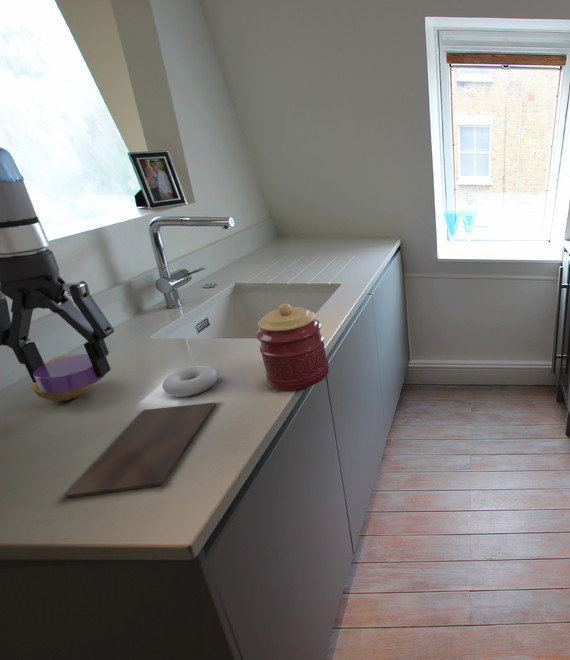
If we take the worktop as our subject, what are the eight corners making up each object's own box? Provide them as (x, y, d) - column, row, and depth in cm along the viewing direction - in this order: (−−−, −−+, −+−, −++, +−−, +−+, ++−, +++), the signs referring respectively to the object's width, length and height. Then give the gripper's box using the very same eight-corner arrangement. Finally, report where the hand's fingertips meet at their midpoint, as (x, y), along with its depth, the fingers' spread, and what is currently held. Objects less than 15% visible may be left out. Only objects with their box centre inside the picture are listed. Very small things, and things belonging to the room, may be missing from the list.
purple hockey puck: (26, 395, 75) (18, 380, 73) (63, 369, 83) (56, 355, 81) (86, 390, 76) (80, 375, 75) (117, 366, 84) (112, 351, 83)
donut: (213, 395, 94) (223, 372, 102) (209, 381, 92) (219, 359, 101) (158, 404, 91) (173, 379, 99) (153, 389, 89) (168, 366, 98)
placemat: (66, 498, 67) (65, 495, 67) (144, 412, 88) (143, 409, 88) (161, 485, 70) (160, 482, 69) (216, 404, 90) (215, 402, 90)
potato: (101, 374, 102) (88, 343, 99) (103, 400, 92) (88, 366, 89) (43, 389, 96) (27, 356, 93) (38, 418, 86) (20, 382, 83)
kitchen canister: (328, 386, 96) (314, 311, 89) (263, 396, 93) (243, 318, 86) (330, 359, 108) (318, 291, 100) (273, 367, 104) (255, 296, 97)
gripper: (-89, 261, 65) (-17, 393, 74) (82, 254, 68) (130, 380, 78) (-43, 249, 71) (18, 371, 80) (110, 243, 75) (151, 360, 84)
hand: (73, 375), depth 79 cm, fingers closed on purple hockey puck, 9 cm apart
